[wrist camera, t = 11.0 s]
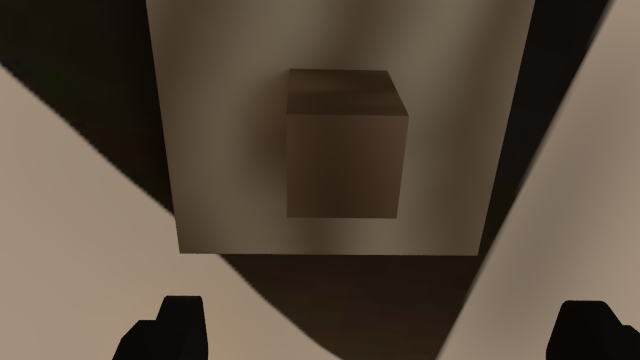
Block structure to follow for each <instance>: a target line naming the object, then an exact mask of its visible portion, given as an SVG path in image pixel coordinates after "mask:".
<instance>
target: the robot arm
mask: <svg viewBox="0 0 640 360" xmlns="http://www.w3.org/2000/svg"><path fill="white" fill-rule="evenodd" d="M112 360H208V341H207V332H206V324H205V316H204V309H203V301H202V298H201V296H166V297H165V298H164V300H163V302H162V305H161V307H160V310H159V313H158V316H157V318H156V320H139V321H138V322H137V323H136V324H135V325H134V326H133V327H132V328H131V329H130V330H129V331H128V332H127V333H126V334H125V335H124V336H123V337H122V339H121V341H120V343H119V345H118V348H117V350H116V352H115V354H114V357H113V359H112ZM546 360H640V333H639V332H638V331H637V330H635V329H634V328H633V327H631V326H630V325H622V324H621V322H620V321H619V320H618V318H617V317H616V315H615V314H614V313H613V311H612V310H611V308H610V307H609V306H608V305H607V304H606V303H605V302H603V301H573V300H568V301H565V302H564V303H563V304H562V306H561V308H560V311H559V314H558V317H557V320H556V323H555V326H554V328H553V331H552V334H551V337H550V340H549V343H548V346H547V349H546Z"/></svg>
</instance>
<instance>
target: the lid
mask: <svg viewBox="0 0 640 360" xmlns="http://www.w3.org/2000/svg"><path fill="white" fill-rule="evenodd" d="M534 2H535V0H146V5H147V13H148V20H149V28H150V35H151V42H152V50H153V57H154V65H155V72H156V80H157V87H158V95H159V102H160V109H161V117H162V124H163V132H164V139H165V147H166V154H167V161H168V169H169V176H170V184H171V191H172V199H173V206H174V214H175V221H176V228H177V236H178V243H179V251H180V253H197V254H198V253H199V254H200V253H201V254H348V255H477V254H478V250H479V245H480V241H481V236H482V232H483V227H484V223H485V219H486V214H487V210H488V205H489V201H490V197H491V192H492V188H493V183H494V179H495V174H496V170H497V166H498V161H499V157H500V152H501V148H502V144H503V139H504V135H505V130H506V126H507V121H508V117H509V113H510V108H511V104H512V99H513V95H514V91H515V86H516V82H517V77H518V73H519V68H520V64H521V60H522V55H523V51H524V46H525V42H526V38H527V33H528V29H529V24H530V20H531V15H532V11H533V7H534Z"/></svg>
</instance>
